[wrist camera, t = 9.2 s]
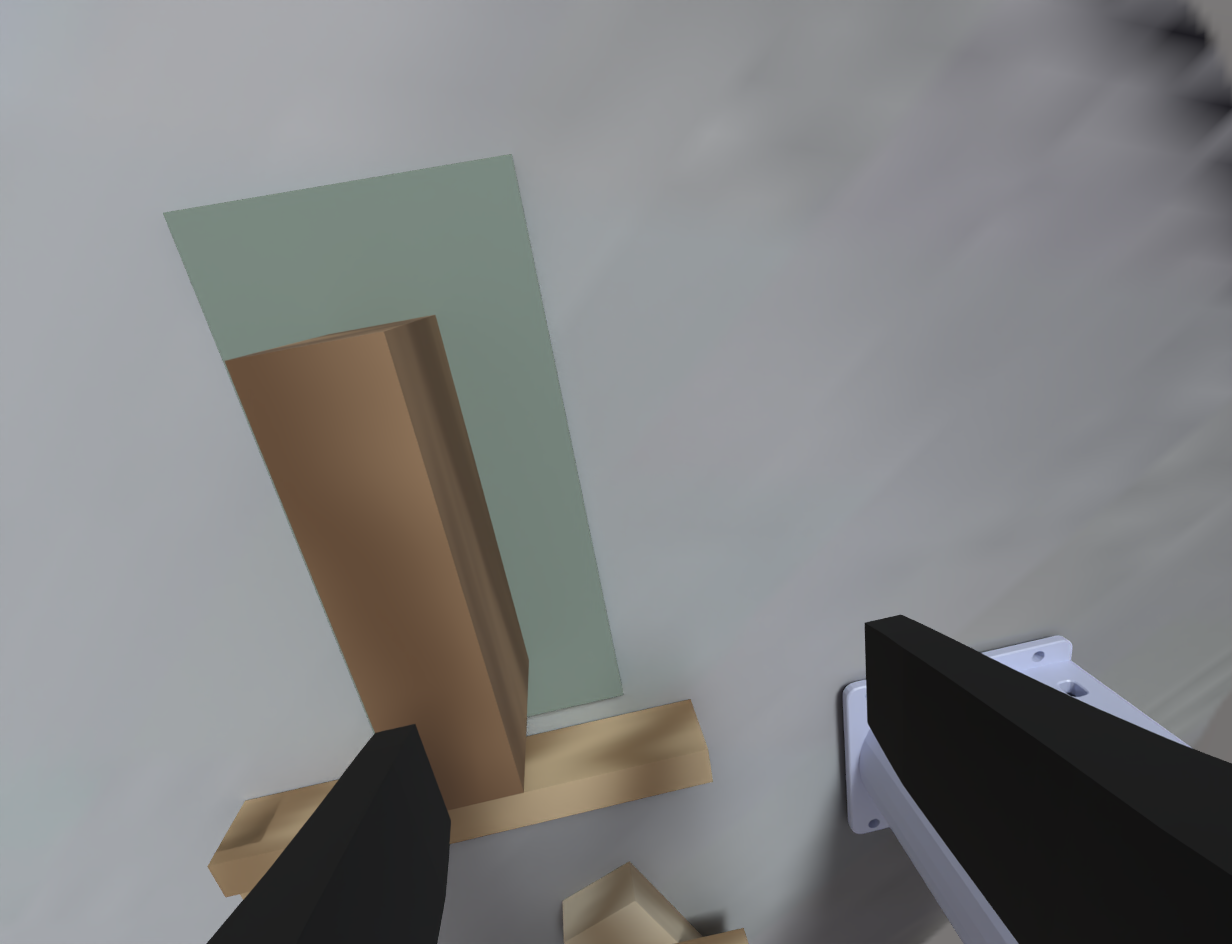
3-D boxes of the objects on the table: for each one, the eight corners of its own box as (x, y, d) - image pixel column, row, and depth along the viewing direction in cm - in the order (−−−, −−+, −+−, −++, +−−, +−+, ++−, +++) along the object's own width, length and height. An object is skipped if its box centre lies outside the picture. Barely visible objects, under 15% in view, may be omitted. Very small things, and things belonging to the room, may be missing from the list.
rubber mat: (512, 157, 15) (511, 154, 15) (622, 687, 21) (623, 695, 21) (172, 215, 15) (162, 212, 14) (383, 741, 21) (380, 749, 21)
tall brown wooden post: (435, 314, 16) (384, 331, 11) (528, 660, 20) (524, 792, 15) (328, 334, 16) (224, 361, 11) (444, 679, 20) (409, 819, 15)
